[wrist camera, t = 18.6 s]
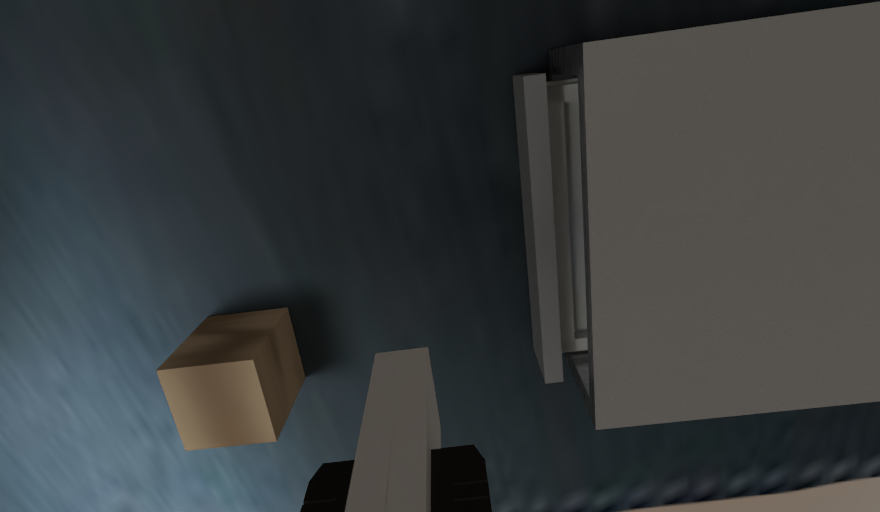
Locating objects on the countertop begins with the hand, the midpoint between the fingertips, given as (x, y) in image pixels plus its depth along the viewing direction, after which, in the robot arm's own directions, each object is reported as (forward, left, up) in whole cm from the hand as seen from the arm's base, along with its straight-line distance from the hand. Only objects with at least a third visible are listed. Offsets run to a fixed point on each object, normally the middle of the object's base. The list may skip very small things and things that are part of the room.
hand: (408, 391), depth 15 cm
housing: (+18, 0, -16) cm, 24 cm away
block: (-12, -6, -16) cm, 20 cm away
